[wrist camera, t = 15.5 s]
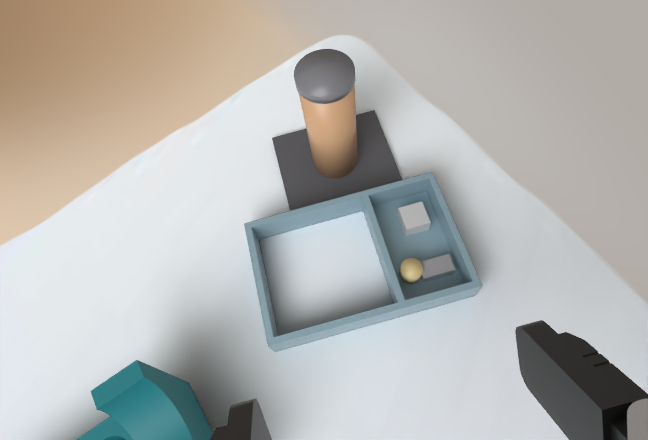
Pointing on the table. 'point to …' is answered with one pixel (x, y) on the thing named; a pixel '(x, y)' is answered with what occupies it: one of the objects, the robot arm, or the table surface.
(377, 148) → the black mat
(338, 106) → the brown canister
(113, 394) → the teal notched block
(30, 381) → the table surface
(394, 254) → the parts tub
